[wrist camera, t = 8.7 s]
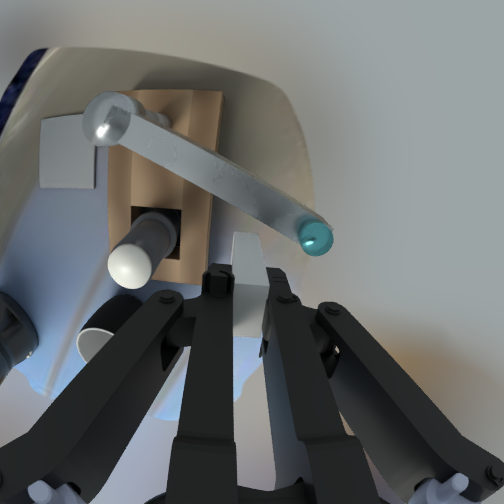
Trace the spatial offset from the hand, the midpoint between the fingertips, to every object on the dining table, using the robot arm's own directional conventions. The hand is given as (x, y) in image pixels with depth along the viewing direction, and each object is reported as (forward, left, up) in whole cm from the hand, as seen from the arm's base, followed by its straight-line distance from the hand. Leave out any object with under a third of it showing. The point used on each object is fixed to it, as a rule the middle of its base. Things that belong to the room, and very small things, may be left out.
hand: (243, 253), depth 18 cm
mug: (-16, -20, -17) cm, 31 cm away
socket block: (-10, +1, -17) cm, 20 cm away
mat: (-25, +5, -17) cm, 30 cm away
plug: (-10, -4, -17) cm, 20 cm away
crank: (-3, +5, -3) cm, 7 cm away
